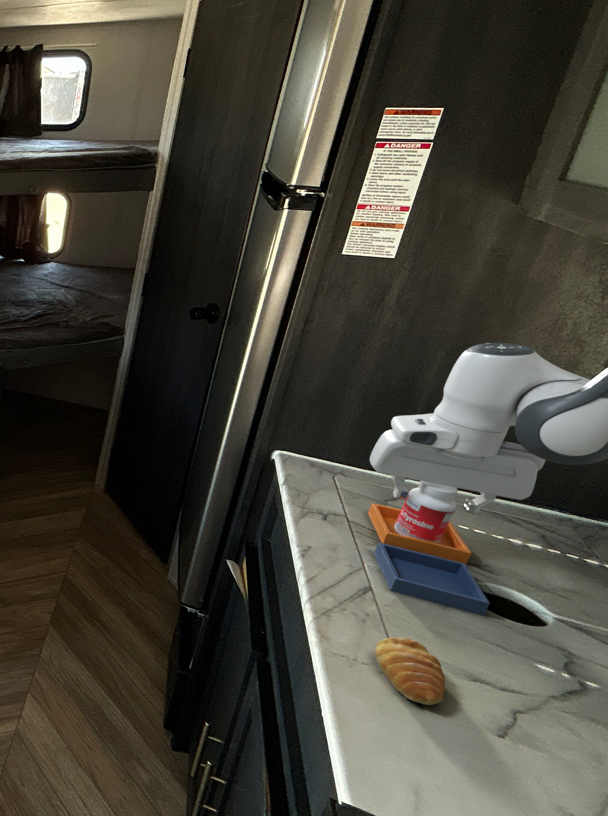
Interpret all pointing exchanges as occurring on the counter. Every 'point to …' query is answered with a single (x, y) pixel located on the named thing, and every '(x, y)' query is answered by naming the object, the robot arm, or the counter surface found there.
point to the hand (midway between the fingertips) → (433, 504)
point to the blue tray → (430, 578)
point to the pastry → (411, 669)
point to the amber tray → (446, 548)
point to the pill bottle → (427, 512)
